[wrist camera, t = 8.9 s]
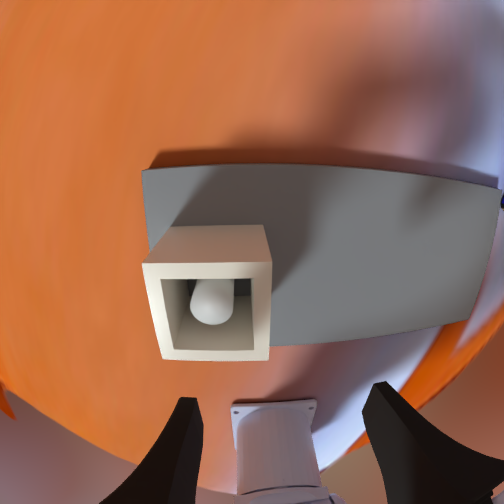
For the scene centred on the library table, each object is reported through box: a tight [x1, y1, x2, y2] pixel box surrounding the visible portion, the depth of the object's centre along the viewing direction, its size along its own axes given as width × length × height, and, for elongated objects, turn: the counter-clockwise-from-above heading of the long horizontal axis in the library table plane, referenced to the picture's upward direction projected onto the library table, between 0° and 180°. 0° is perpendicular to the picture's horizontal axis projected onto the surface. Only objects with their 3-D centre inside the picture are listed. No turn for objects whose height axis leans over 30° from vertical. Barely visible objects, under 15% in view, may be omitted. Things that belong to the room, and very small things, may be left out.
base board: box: [141, 163, 502, 346], centre depth 15 cm, size 12×26×5 cm, turn 90°
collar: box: [142, 225, 272, 361], centre depth 14 cm, size 5×5×5 cm
